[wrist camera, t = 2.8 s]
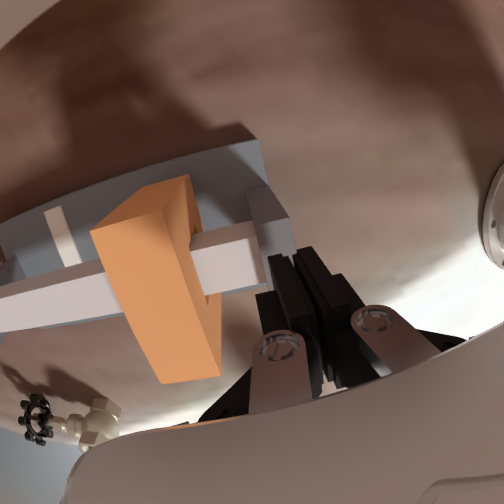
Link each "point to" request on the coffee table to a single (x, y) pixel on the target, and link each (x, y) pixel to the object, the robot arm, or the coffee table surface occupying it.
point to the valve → (72, 422)
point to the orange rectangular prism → (162, 280)
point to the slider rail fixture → (108, 199)
